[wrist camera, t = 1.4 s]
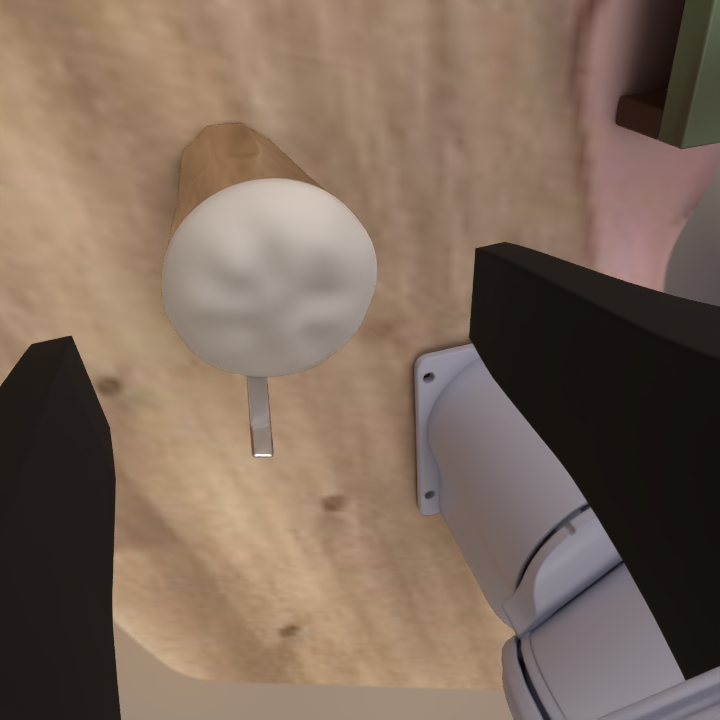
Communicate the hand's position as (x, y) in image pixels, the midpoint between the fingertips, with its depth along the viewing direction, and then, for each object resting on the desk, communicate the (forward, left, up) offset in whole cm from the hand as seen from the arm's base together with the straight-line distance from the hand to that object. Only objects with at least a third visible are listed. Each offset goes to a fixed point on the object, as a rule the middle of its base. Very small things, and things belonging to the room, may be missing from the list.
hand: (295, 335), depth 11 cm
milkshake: (-1, 0, -11) cm, 11 cm away
